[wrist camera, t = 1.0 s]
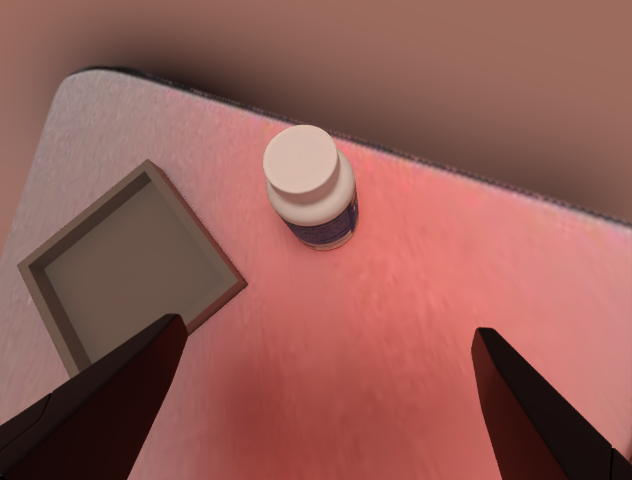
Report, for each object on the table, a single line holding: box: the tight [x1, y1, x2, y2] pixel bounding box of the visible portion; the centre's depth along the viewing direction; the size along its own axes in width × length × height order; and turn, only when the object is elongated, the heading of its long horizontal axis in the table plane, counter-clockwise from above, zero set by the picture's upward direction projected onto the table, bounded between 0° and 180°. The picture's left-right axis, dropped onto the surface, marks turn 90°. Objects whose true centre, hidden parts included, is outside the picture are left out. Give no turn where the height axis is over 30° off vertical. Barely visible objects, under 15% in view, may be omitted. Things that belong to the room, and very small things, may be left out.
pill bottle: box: [263, 125, 359, 250], centre depth 21 cm, size 5×5×10 cm
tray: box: [17, 159, 248, 379], centre depth 26 cm, size 14×14×2 cm
